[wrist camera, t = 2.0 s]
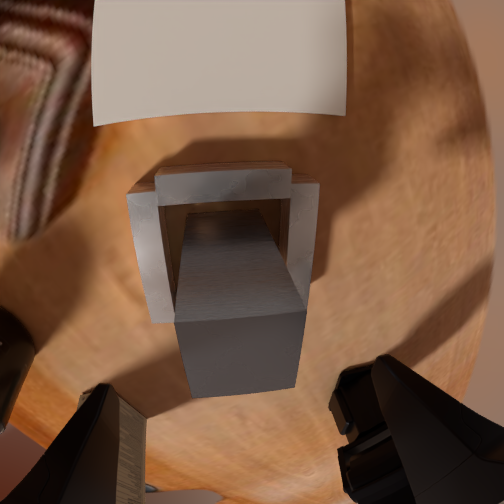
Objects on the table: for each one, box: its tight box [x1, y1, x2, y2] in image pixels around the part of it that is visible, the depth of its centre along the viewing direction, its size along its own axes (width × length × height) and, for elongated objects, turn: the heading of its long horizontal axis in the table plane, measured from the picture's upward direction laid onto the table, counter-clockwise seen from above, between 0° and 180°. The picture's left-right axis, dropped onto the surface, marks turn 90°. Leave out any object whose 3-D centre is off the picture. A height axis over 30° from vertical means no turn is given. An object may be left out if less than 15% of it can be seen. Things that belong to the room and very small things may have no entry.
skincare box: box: [77, 393, 147, 504], centre depth 19 cm, size 6×4×12 cm
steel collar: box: [126, 161, 320, 323], centre depth 17 cm, size 10×10×2 cm
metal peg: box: [174, 209, 307, 398], centre depth 14 cm, size 4×4×9 cm
